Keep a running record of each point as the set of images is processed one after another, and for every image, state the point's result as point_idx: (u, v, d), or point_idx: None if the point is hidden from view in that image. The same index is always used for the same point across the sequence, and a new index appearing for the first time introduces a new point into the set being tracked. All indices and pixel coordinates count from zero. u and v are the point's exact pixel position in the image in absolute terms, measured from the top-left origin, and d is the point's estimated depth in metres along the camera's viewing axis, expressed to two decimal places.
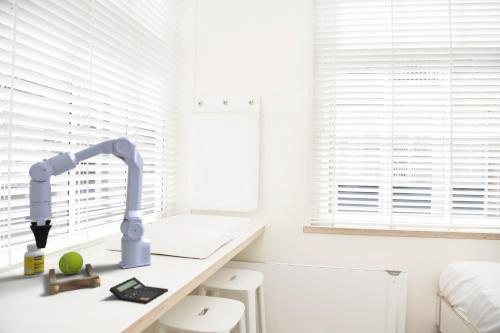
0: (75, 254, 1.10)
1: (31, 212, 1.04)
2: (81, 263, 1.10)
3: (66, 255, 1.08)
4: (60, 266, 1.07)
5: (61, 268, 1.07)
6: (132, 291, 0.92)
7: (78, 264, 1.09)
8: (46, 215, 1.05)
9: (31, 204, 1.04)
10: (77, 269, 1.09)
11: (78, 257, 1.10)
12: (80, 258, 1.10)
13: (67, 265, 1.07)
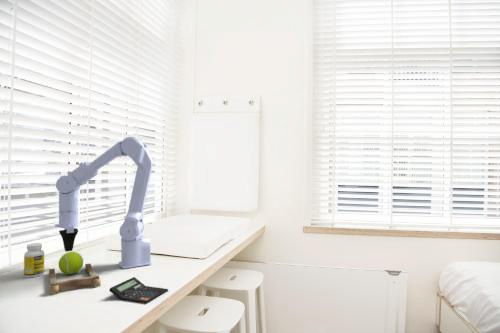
0: (75, 254, 1.10)
1: (60, 220, 1.15)
2: (81, 263, 1.10)
3: (66, 255, 1.08)
4: (60, 266, 1.07)
5: (61, 268, 1.07)
6: (132, 291, 0.92)
7: (78, 264, 1.09)
8: (73, 223, 1.17)
9: (60, 213, 1.15)
10: (77, 269, 1.09)
11: (78, 257, 1.10)
12: (80, 258, 1.10)
13: (67, 265, 1.07)
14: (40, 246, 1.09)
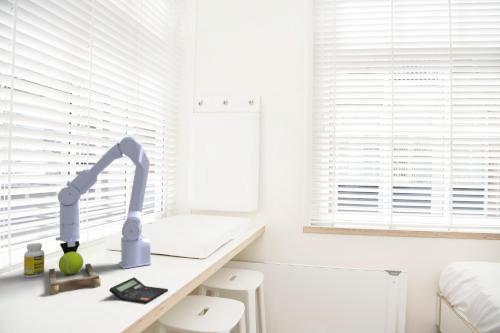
0: (75, 254, 1.10)
1: (61, 233, 1.12)
2: (81, 263, 1.10)
3: (66, 255, 1.08)
4: (60, 266, 1.07)
5: (61, 268, 1.07)
6: (132, 291, 0.92)
7: (78, 264, 1.09)
8: (75, 236, 1.13)
9: (61, 226, 1.12)
10: (77, 269, 1.09)
11: (78, 257, 1.10)
12: (80, 258, 1.10)
13: (67, 265, 1.07)
14: (40, 246, 1.09)
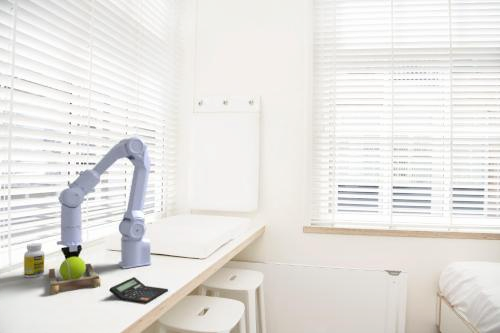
0: (77, 259, 1.03)
1: (63, 237, 1.05)
2: (83, 269, 1.04)
3: (68, 260, 1.02)
4: (61, 272, 1.01)
5: (62, 274, 1.01)
6: (132, 291, 0.92)
7: (81, 270, 1.03)
8: (77, 240, 1.07)
9: (63, 229, 1.05)
10: (79, 275, 1.03)
11: (80, 262, 1.03)
12: (82, 263, 1.04)
13: (69, 271, 1.01)
14: (40, 246, 1.09)
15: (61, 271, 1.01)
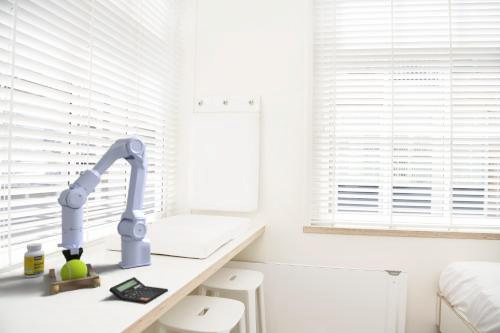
0: (78, 262, 1.00)
1: (63, 239, 1.02)
2: (85, 272, 1.00)
3: (69, 263, 0.99)
4: (62, 275, 0.98)
5: (63, 278, 0.98)
6: (132, 291, 0.92)
7: (82, 273, 0.99)
8: (78, 242, 1.03)
9: (63, 231, 1.02)
10: None
11: (82, 265, 1.00)
12: (84, 266, 1.00)
13: (70, 275, 0.97)
14: (40, 246, 1.09)
15: (62, 274, 0.98)
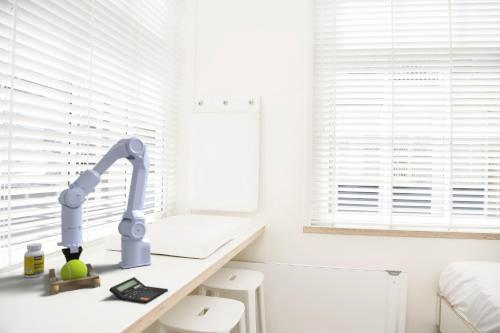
0: (78, 262, 1.00)
1: (63, 238, 1.04)
2: (85, 272, 1.00)
3: (69, 263, 0.99)
4: (62, 276, 0.98)
5: (63, 278, 0.98)
6: (132, 291, 0.92)
7: (82, 273, 0.99)
8: (78, 241, 1.05)
9: (63, 230, 1.04)
10: None
11: (82, 266, 1.00)
12: (84, 267, 1.00)
13: (70, 275, 0.97)
14: (40, 246, 1.09)
15: (62, 275, 0.98)
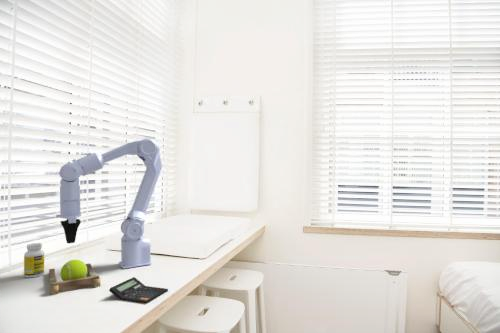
0: (78, 262, 1.00)
1: (62, 210, 1.09)
2: (85, 272, 1.00)
3: (69, 263, 0.99)
4: (62, 276, 0.98)
5: (63, 278, 0.98)
6: (132, 291, 0.92)
7: (82, 273, 0.99)
8: (76, 213, 1.10)
9: (62, 203, 1.09)
10: None
11: (82, 266, 1.00)
12: (84, 267, 1.01)
13: (70, 275, 0.97)
14: (40, 246, 1.09)
15: (62, 275, 0.98)
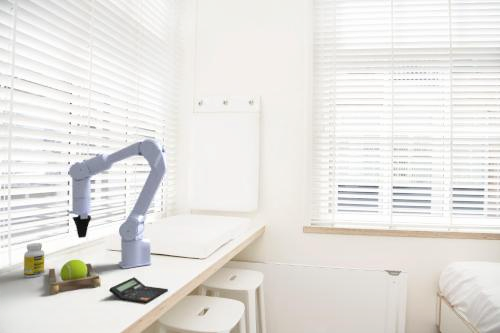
0: (78, 262, 1.00)
1: (74, 207, 1.17)
2: (85, 272, 1.00)
3: (69, 263, 0.99)
4: (62, 276, 0.98)
5: (63, 278, 0.98)
6: (132, 291, 0.92)
7: (82, 273, 0.99)
8: (87, 210, 1.18)
9: (74, 200, 1.17)
10: None
11: (82, 266, 1.00)
12: (84, 267, 1.01)
13: (70, 275, 0.97)
14: (40, 246, 1.09)
15: (62, 275, 0.98)
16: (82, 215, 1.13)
